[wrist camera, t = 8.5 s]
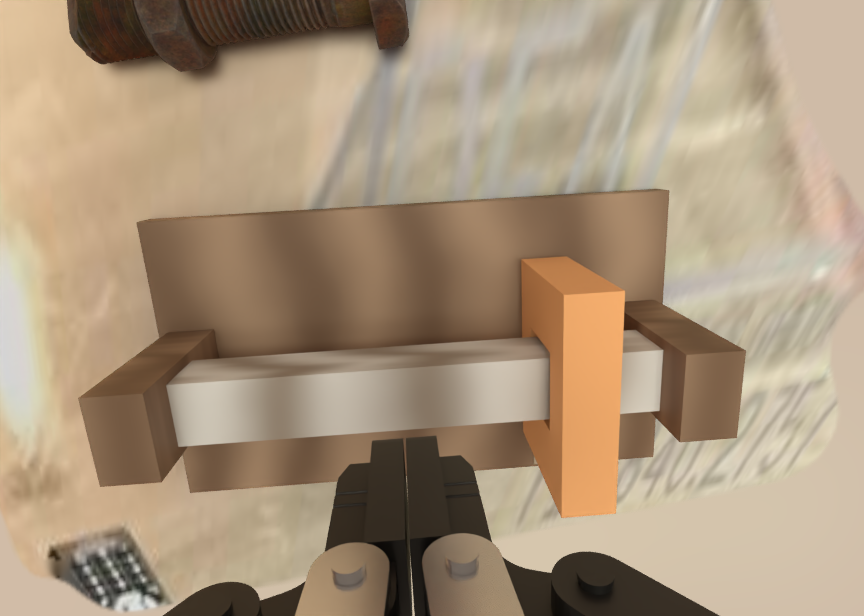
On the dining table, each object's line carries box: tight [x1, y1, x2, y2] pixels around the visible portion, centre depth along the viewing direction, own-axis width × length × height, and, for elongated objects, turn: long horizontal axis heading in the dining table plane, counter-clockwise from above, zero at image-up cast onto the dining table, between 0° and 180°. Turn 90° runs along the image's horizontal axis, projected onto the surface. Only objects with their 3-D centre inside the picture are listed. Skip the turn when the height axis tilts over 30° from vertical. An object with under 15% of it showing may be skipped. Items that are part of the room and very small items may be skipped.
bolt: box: [67, 0, 409, 72], centre depth 25 cm, size 6×5×15 cm
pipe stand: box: [78, 189, 746, 493], centre depth 27 cm, size 28×16×10 cm, turn 93°
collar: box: [521, 256, 625, 518], centre depth 26 cm, size 2×10×8 cm, turn 3°
